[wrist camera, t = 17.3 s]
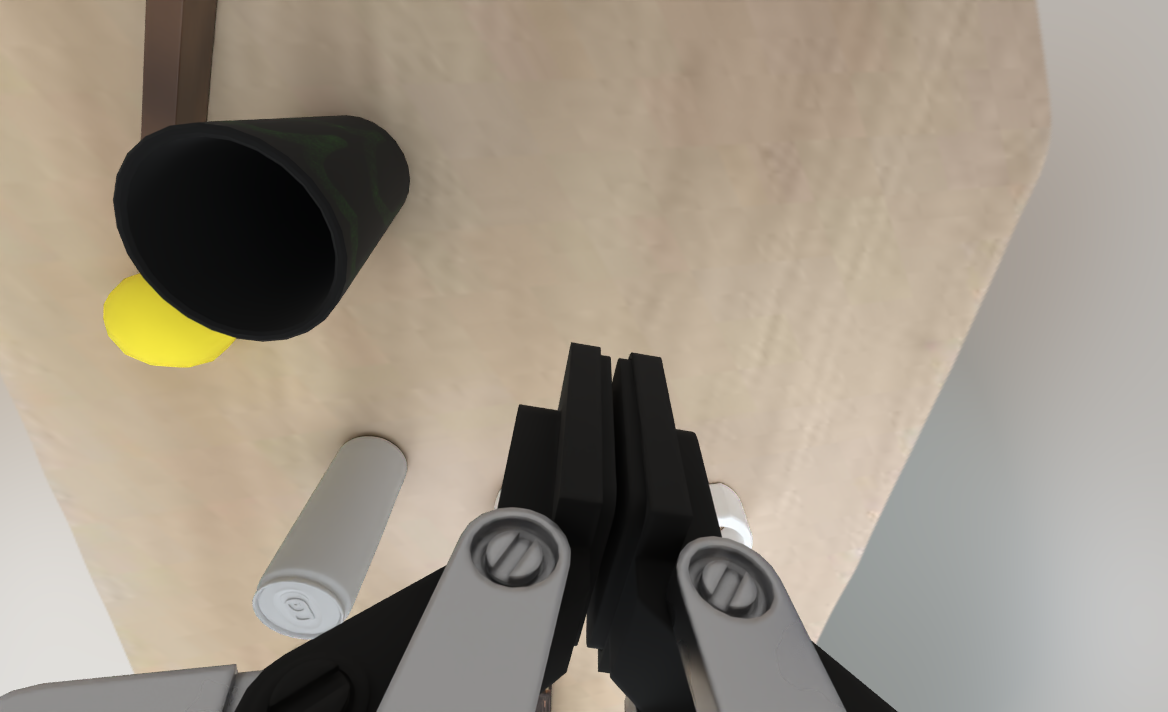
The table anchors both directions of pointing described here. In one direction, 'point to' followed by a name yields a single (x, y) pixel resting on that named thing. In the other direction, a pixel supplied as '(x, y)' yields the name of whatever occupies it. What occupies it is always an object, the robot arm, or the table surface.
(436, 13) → the table surface
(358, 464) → the beverage can
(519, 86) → the table surface
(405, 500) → the table surface
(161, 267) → the cup
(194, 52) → the back rail
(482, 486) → the table surface
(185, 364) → the lemon
